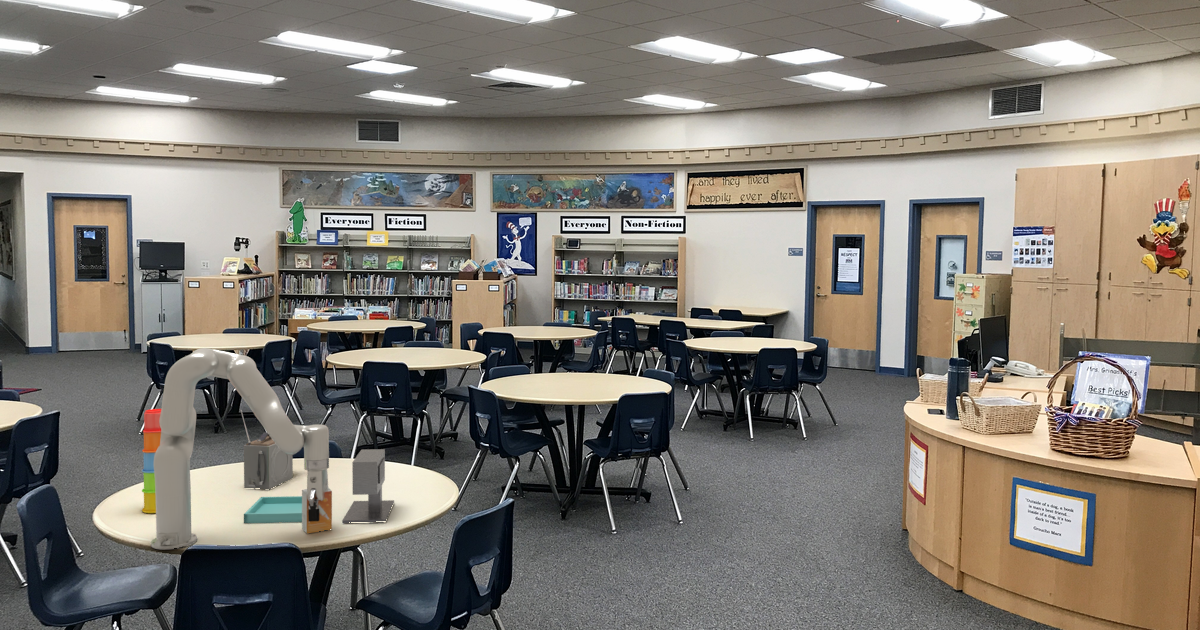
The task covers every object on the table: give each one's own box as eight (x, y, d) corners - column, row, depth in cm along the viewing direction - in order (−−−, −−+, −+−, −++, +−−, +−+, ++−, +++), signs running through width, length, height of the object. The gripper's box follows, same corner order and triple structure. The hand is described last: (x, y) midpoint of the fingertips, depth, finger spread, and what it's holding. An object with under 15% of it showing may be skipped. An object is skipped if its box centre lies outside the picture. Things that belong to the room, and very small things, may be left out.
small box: (306, 534, 263) (306, 494, 262) (301, 528, 268) (301, 489, 267) (332, 530, 267) (332, 490, 266) (327, 524, 272) (327, 485, 271)
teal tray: (312, 521, 275) (312, 512, 275) (243, 523, 272) (243, 514, 272) (325, 504, 295) (325, 495, 295) (261, 505, 292) (261, 496, 292)
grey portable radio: (300, 475, 333) (299, 401, 331) (268, 491, 310) (267, 411, 308) (272, 473, 335) (271, 399, 333) (238, 489, 311) (237, 410, 309)
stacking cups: (136, 514, 280) (134, 413, 277) (150, 505, 290) (148, 407, 288) (168, 514, 281) (166, 413, 278) (180, 505, 291) (178, 407, 288)
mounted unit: (385, 523, 275) (385, 463, 274) (342, 524, 273) (341, 463, 272) (394, 503, 297) (394, 447, 295) (354, 504, 295) (353, 448, 294)
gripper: (323, 470, 258) (323, 525, 259) (334, 457, 275) (334, 508, 276) (298, 470, 257) (298, 525, 258) (310, 457, 274) (311, 508, 275)
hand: (317, 516), depth 267 cm, fingers closed on small box, 8 cm apart
